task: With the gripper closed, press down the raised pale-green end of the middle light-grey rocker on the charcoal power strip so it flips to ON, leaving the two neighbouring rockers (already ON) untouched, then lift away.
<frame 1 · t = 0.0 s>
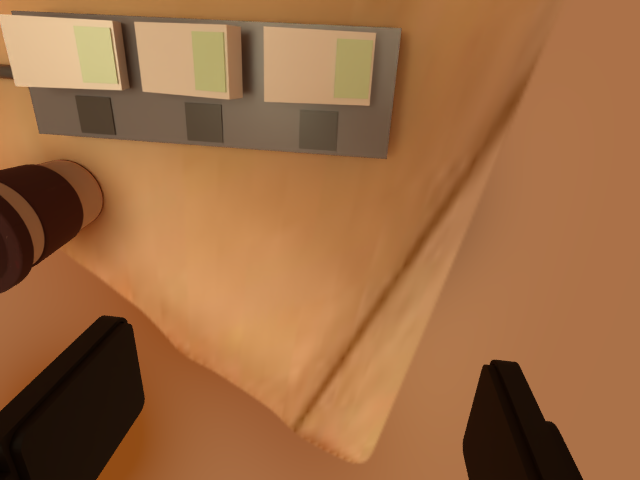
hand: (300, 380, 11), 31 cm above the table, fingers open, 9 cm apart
rocker 2: (317, 67, 31), point 6 cm above the table, hinge at -13.0°
rocker 1: (68, 53, 33), point 6 cm above the table, hinge at -13.0°
coffee cup: (74, 191, 45), on the table
rocker middle: (188, 60, 32), point 6 cm above the table, hinge at 13.0°
power strip: (218, 83, 38), on the table
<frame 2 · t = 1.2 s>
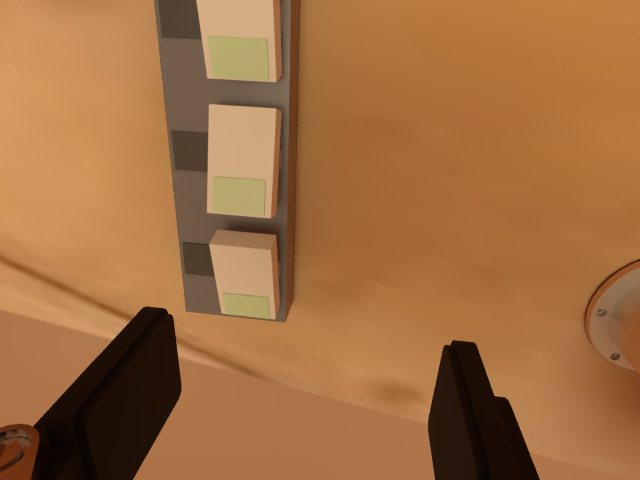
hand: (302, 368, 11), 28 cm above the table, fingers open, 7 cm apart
rocker 2: (247, 277, 36), point 6 cm above the table, hinge at -13.0°
rocker 1: (239, 14, 27), point 6 cm above the table, hinge at -13.0°
rocker middle: (243, 162, 32), point 6 cm above the table, hinge at 13.0°
power strip: (242, 144, 37), on the table
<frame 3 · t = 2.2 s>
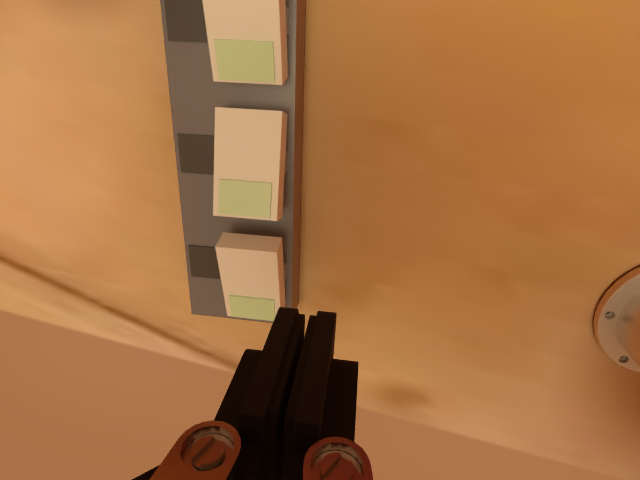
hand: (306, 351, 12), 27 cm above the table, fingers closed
rocker 2: (253, 279, 36), point 6 cm above the table, hinge at -13.0°
rocker 1: (245, 17, 28), point 6 cm above the table, hinge at -13.0°
rocker middle: (249, 164, 32), point 6 cm above the table, hinge at 13.0°
power strip: (247, 147, 38), on the table
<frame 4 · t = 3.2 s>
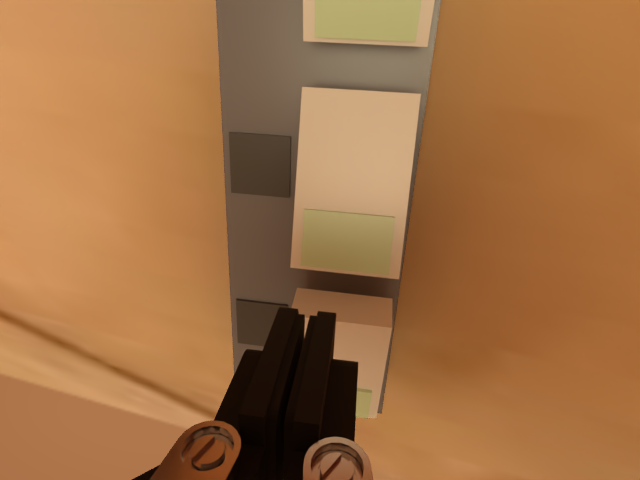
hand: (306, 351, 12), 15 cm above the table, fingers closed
rocker 2: (338, 358, 23), point 6 cm above the table, hinge at -13.0°
rocker middle: (352, 184, 19), point 6 cm above the table, hinge at 13.0°
power strip: (326, 153, 25), on the table
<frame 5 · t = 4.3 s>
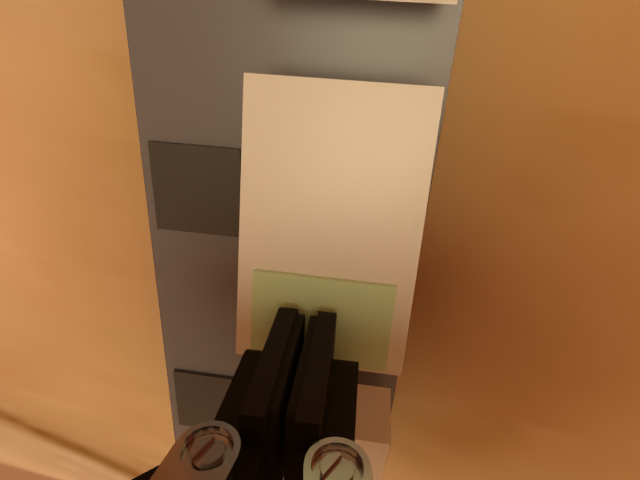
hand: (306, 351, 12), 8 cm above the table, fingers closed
rocker 2: (313, 463, 16), point 6 cm above the table, hinge at -13.0°
rocker middle: (331, 228, 12), point 6 cm above the table, hinge at 9.0°, touching gripper
power strip: (300, 169, 18), on the table
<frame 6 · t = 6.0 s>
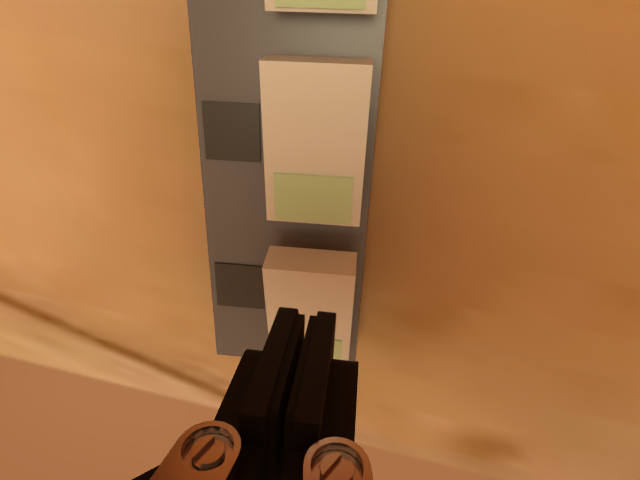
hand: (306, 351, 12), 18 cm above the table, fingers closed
rocker 2: (310, 311, 25), point 6 cm above the table, hinge at -13.0°
rocker middle: (315, 145, 21), point 6 cm above the table, hinge at -6.9°
power strip: (296, 123, 27), on the table
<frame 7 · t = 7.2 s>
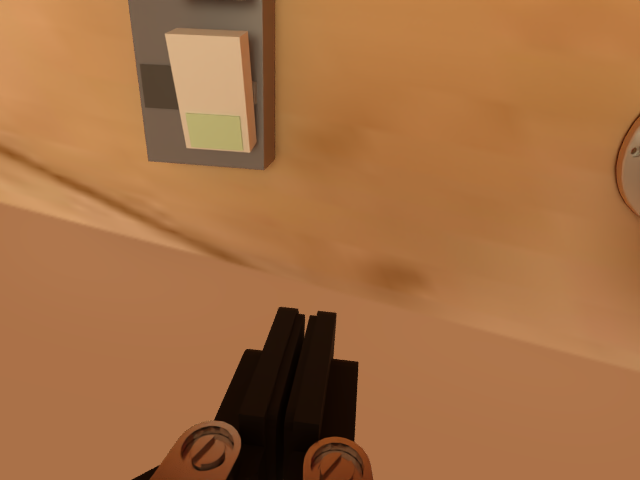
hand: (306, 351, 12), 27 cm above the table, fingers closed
rocker 2: (214, 93, 30), point 6 cm above the table, hinge at -13.0°
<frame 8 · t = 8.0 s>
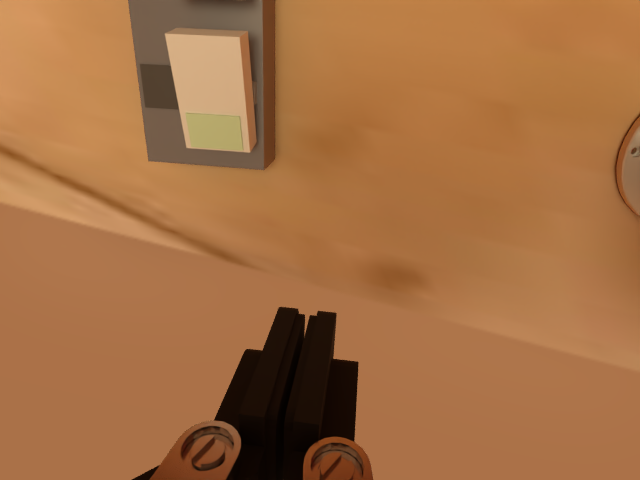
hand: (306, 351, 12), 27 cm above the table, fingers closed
rocker 2: (214, 93, 30), point 6 cm above the table, hinge at -13.0°
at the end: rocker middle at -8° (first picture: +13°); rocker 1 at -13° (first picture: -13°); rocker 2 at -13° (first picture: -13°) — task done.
